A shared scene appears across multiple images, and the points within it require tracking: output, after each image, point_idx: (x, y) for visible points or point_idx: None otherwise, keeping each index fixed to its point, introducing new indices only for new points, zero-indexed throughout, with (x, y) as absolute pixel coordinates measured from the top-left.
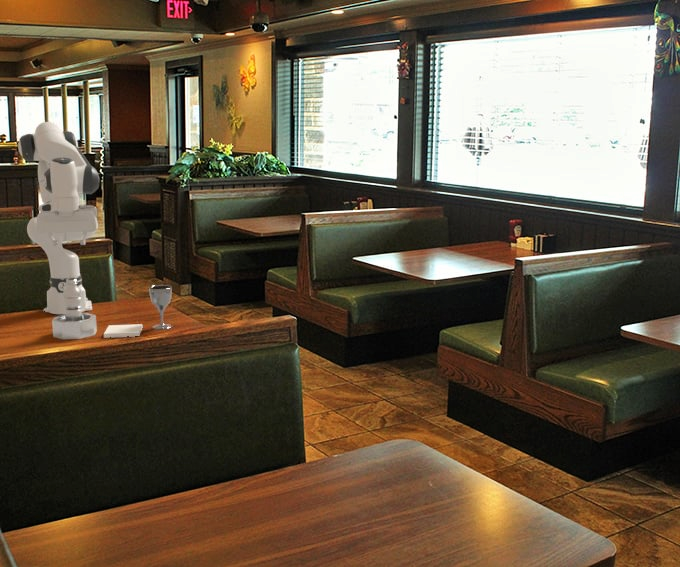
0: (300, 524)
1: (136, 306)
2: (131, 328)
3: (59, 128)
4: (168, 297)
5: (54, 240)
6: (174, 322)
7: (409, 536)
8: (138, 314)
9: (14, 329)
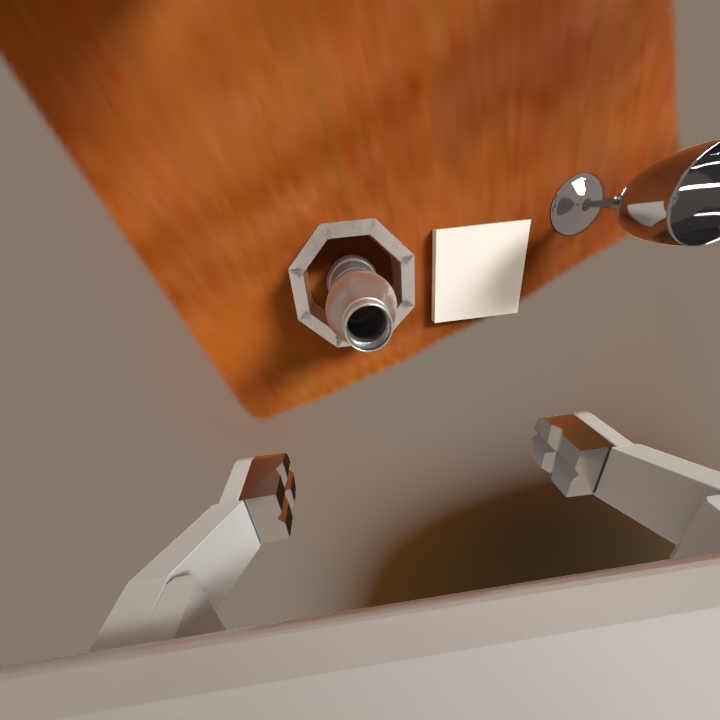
0: None
1: None
2: (500, 271)
3: None
4: (693, 222)
5: (264, 535)
6: (621, 143)
7: None
8: None
9: (138, 212)
